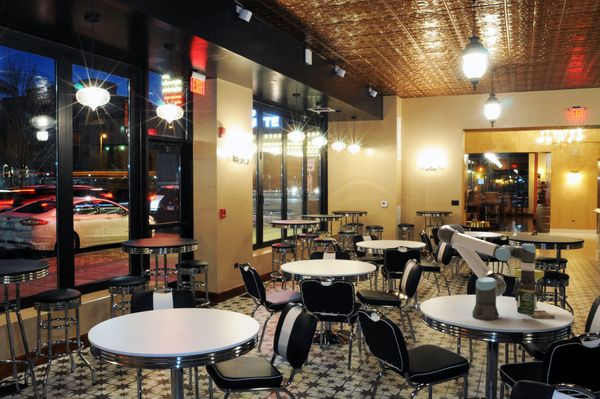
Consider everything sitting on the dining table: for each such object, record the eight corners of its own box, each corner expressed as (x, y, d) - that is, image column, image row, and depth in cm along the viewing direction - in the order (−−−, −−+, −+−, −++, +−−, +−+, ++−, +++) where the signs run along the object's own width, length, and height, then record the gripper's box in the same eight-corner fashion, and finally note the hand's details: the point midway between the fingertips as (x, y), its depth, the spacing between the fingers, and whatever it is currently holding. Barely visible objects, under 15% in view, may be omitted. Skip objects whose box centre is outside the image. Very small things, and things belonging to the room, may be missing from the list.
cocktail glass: (526, 310, 325) (527, 272, 325) (507, 304, 342) (508, 267, 342) (549, 309, 330) (550, 271, 329) (530, 303, 347) (531, 267, 347)
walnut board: (532, 318, 307) (532, 315, 307) (523, 312, 320) (524, 310, 320) (554, 318, 307) (554, 315, 307) (544, 313, 320) (544, 310, 320)
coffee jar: (516, 313, 304) (518, 283, 303) (517, 311, 311) (518, 281, 310) (534, 316, 299) (535, 285, 299) (534, 313, 306) (536, 282, 306)
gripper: (511, 270, 301) (510, 307, 301) (549, 271, 300) (547, 309, 301) (507, 268, 308) (505, 304, 309) (543, 269, 307) (542, 305, 308)
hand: (526, 306), depth 305 cm, fingers closed on coffee jar, 9 cm apart
